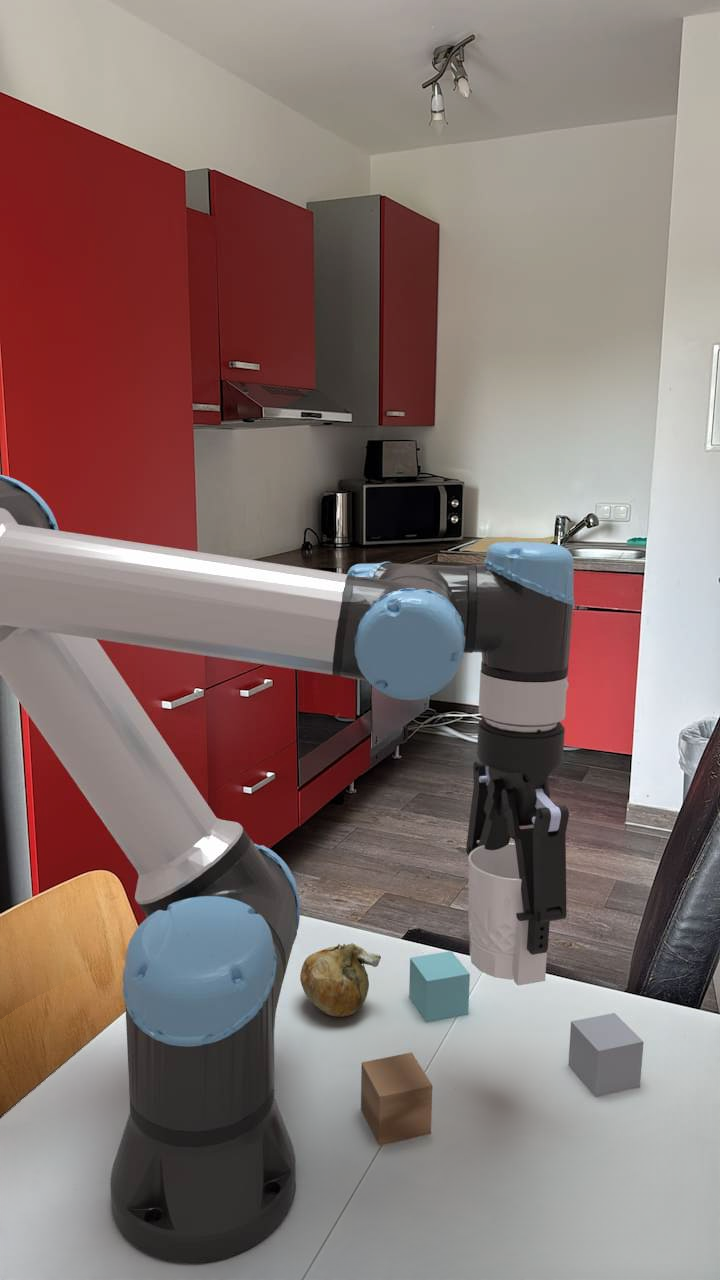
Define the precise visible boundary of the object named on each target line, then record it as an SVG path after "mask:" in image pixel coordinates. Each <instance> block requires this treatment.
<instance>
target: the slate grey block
mask: <svg viewBox="0 0 720 1280" xmlns="http://www.w3.org/2000/svg"><path fill="white" fill-rule="evenodd" d="M569 1032H570V1033H569V1034H570V1035H569V1048H568V1049H569V1051H568V1067H569V1068H570V1069H571V1071H572V1072H573V1073H574V1074H575V1075H576V1076H577V1078H578V1079H579V1080H580V1081H581V1082H582V1083H583V1084H584V1085H585V1087H586V1089H588V1090H589V1092H590V1093H591V1094H592V1095H593V1096H594V1097H595V1098H597V1097H601V1096H605V1095H610V1094H615V1093H619V1092H623V1091H628V1090H632V1089H633V1090H634V1089H637V1088H640V1087H641V1076H642V1069H643V1068H642V1066H643V1055H644V1042H645V1041H644V1040H643V1039H642V1038H641V1037H640V1036H639V1035H637V1033H635V1031H634V1030H633V1029H632V1028H631V1027H629V1025H627V1023H625V1022H624V1021H623V1020H622V1018H620V1017H619V1016H618V1015H617V1014H616V1013H615V1012H613V1013H608V1014H606V1013H605V1014H602V1015H597V1016H592V1017H591V1016H590V1017H587V1018H582V1019H577V1020H572V1021H570V1031H569Z"/></svg>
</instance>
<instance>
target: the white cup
mask: <svg viewBox="0 0 720 1280" xmlns="http://www.w3.org/2000/svg"><path fill="white" fill-rule="evenodd" d="M467 865H468V874H467V875H468V876H467V877H468V878H467V879H468V885H467V886H468V892H467V895H468V896H467V898H468V902H467V903H468V904H467V905H468V907H467V910H468V914H467V915H468V933H469V957H470V962H471V964H472V965H473V966H474V967H475V968H476V969H477V970H478V971H479V972H481V973H483V974H485V975H488V976H490V977H493V978H498V979H503V980H513V981H514V969H515V952H516V935H517V916H516V913H522V912H524V911H523V903H522V895H521V882H522V880H521V879H519V870H518V862H517V854H516V846H515V842H514V843H513V842H509V844H508V845H506V846H505V847H503V848H500V849H497V850H487V849H485V846H484V845H482V846H480V847H477V848H475V849H474V850H472V851H471V852H470V854H469V856H468V864H467Z"/></svg>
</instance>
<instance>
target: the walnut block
mask: <svg viewBox="0 0 720 1280" xmlns="http://www.w3.org/2000/svg"><path fill="white" fill-rule="evenodd" d="M360 1070H361V1075H360V1076H361V1080H360V1081H361V1082H360V1088H361V1089H360V1110H361V1113H362V1115H363V1117H364V1118H365V1120H366V1122H367V1124H368V1127H369V1129H370V1131H371V1132H372V1135H373V1137H374V1139H375V1141H376V1143H377V1145H378V1146H383V1145H389V1144H391V1143H392V1144H393V1143H397V1142H401V1141H406V1140H410V1139H414V1138H418V1137H423V1136H427V1135H431V1134H432V1114H433V1113H432V1110H433V1107H432V1105H433V1084H432V1082H431V1081H430V1079H429V1078H428V1076H427V1074H426V1073H425V1072H424V1070H423V1068H422V1067H421V1065H420V1063H419V1062H418V1059H416V1057H415V1055H414V1054H413V1052H408V1053H402V1054H397V1055H396V1054H395V1055H391V1056H388V1057H382V1058H377V1059H373V1060H371V1059H370V1060H367V1061H362V1062H361V1069H360Z"/></svg>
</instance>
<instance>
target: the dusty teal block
mask: <svg viewBox="0 0 720 1280" xmlns="http://www.w3.org/2000/svg"><path fill="white" fill-rule="evenodd" d="M470 977H471V974H470V972H469V971H468V970H467V969H466V967H465V966H464V964H462V962H461V961H460V960H459V959H458V957H457V956H456V955H455V954H454V953H453V951H452V950H449V951H444V952H437V953H430V954H426V955H425V954H423V955H420V956H419V955H418V956H413V957H412V956H411V957H409V985H408V986H409V989H408V991H409V992H408V993H409V994H408V998H409V1000H410V1001H411V1003H412V1004H413V1006H414V1007H415V1009H416V1011H418V1013H419V1015H420V1016H421V1017H422V1019H423V1020H424V1022H425V1023H431V1022H436V1021H437V1022H438V1021H442V1020H448V1019H453V1018H457V1017H463V1016H468V1015H469V1007H470V1006H469V1005H470V1004H469V1003H470V1002H469V1001H470Z"/></svg>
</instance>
